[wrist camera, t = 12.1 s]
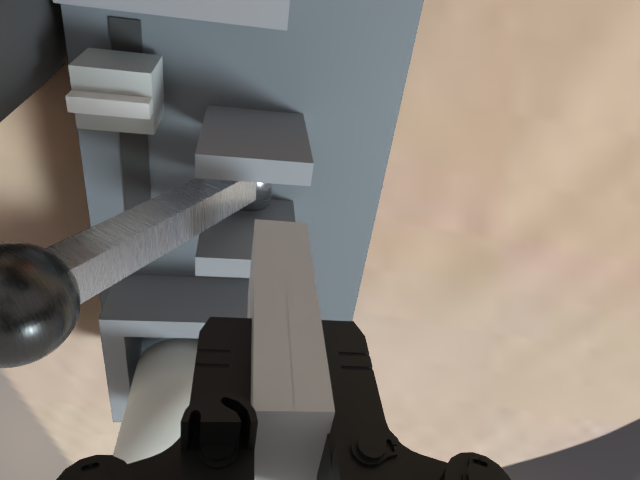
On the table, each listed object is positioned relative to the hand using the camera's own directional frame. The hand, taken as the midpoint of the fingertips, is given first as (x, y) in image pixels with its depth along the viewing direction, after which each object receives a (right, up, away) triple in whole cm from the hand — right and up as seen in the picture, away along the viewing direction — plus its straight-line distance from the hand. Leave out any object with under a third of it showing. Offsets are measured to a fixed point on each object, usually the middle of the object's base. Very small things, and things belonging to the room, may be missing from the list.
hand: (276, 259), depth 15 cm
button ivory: (-5, -5, +7) cm, 10 cm away
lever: (-1, +3, +4) cm, 5 cm away
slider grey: (-5, +6, +3) cm, 9 cm away
